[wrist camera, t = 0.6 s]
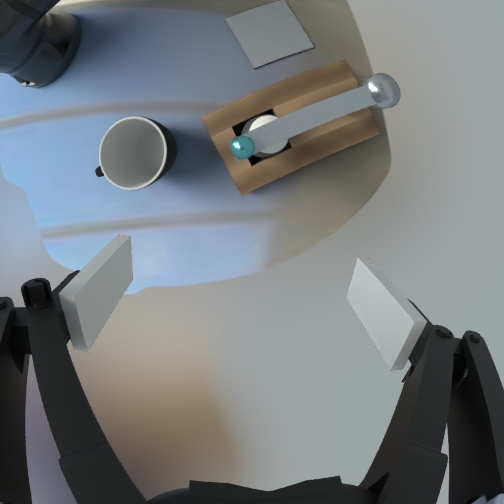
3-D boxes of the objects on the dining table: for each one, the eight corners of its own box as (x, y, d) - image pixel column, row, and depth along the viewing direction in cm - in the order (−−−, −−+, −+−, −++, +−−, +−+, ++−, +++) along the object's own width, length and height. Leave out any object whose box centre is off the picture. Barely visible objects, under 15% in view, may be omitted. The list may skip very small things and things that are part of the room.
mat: (224, 20, 31) (224, 19, 31) (283, 0, 30) (283, -1, 29) (254, 69, 35) (254, 68, 34) (313, 47, 33) (314, 46, 33)
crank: (377, 75, 23) (397, 67, 19) (391, 104, 24) (412, 101, 20) (224, 135, 25) (221, 133, 21) (241, 167, 27) (241, 171, 23)
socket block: (204, 120, 37) (187, 109, 24) (336, 65, 34) (374, 39, 22) (241, 191, 41) (242, 213, 29) (368, 134, 39) (417, 134, 26)
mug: (173, 112, 36) (153, 103, 27) (192, 167, 40) (177, 174, 30) (105, 143, 37) (71, 146, 28) (123, 195, 41) (94, 210, 31)
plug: (234, 129, 38) (232, 122, 26) (268, 113, 37) (281, 100, 25) (251, 161, 40) (256, 168, 28) (284, 146, 39) (303, 147, 27)
